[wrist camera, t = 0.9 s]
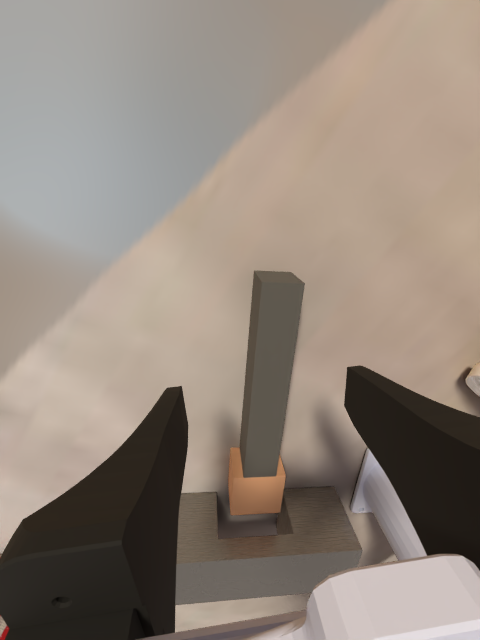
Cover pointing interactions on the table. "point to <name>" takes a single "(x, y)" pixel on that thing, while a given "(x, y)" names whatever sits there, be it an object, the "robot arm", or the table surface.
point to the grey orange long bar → (265, 394)
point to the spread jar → (474, 379)
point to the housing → (263, 549)
